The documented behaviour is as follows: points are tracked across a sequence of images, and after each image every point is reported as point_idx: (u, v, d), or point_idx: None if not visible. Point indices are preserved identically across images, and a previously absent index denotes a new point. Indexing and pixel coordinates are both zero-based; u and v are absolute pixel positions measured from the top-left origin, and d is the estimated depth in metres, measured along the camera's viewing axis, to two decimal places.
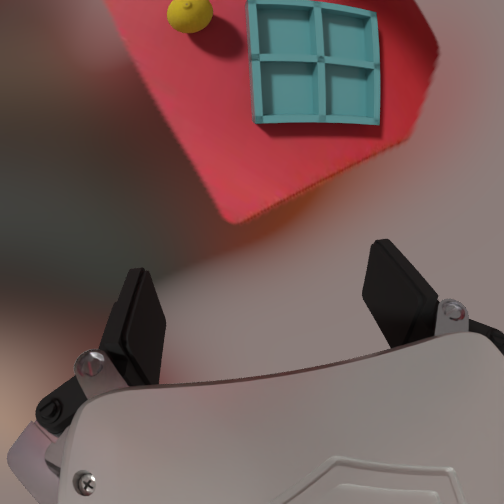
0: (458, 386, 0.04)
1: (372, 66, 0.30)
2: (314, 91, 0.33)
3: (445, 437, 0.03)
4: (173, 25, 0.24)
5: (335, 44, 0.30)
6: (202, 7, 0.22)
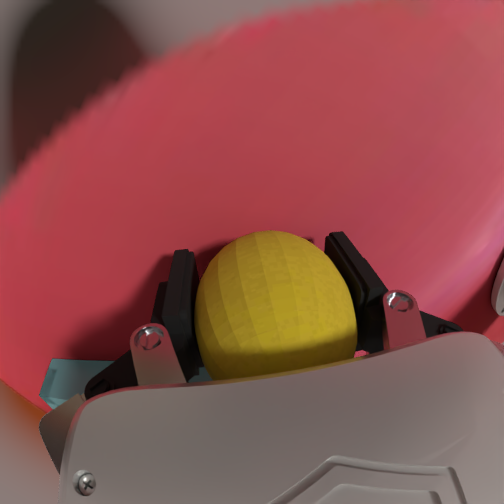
0: (458, 386, 0.04)
1: None
2: None
3: (445, 437, 0.03)
4: (216, 303, 0.08)
5: None
6: None
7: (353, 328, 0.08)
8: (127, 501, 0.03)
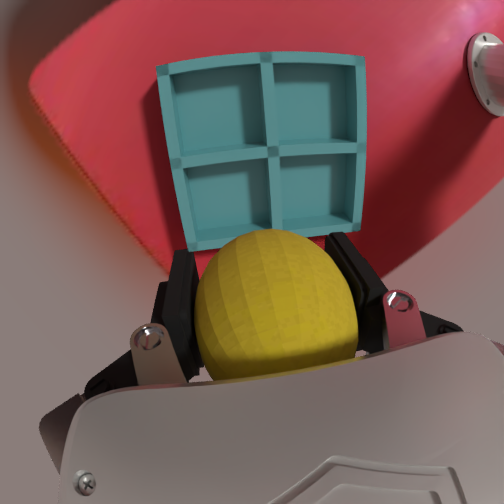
0: (458, 386, 0.04)
1: None
2: (218, 148, 0.24)
3: (445, 437, 0.03)
4: (216, 301, 0.08)
5: (299, 175, 0.27)
6: None
7: (354, 327, 0.08)
8: (127, 501, 0.03)
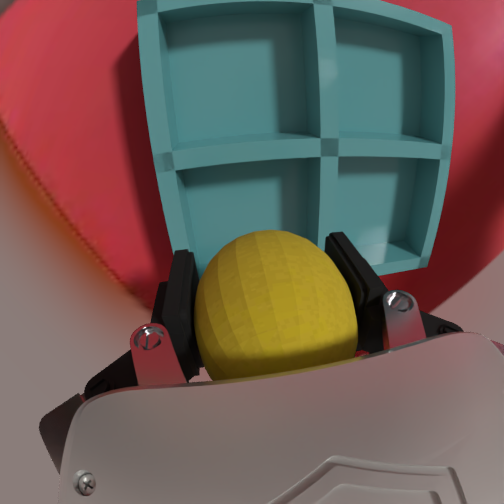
0: (458, 386, 0.04)
1: None
2: (236, 137, 0.14)
3: (445, 437, 0.03)
4: (215, 302, 0.08)
5: (355, 186, 0.18)
6: None
7: (354, 328, 0.08)
8: (127, 501, 0.03)
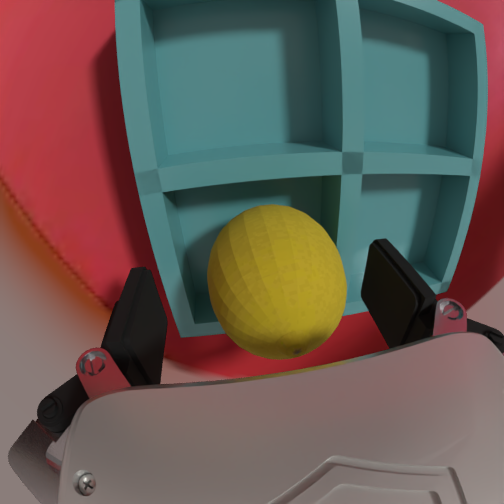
0: (458, 386, 0.04)
1: None
2: (238, 149, 0.12)
3: (445, 437, 0.03)
4: (228, 257, 0.10)
5: (375, 205, 0.15)
6: None
7: (342, 280, 0.09)
8: (127, 501, 0.03)
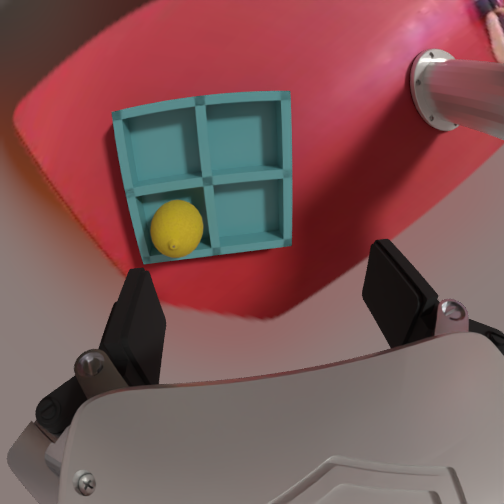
0: (458, 386, 0.04)
1: (214, 246, 0.32)
2: (164, 178, 0.29)
3: (445, 437, 0.03)
4: (155, 217, 0.27)
5: (235, 198, 0.33)
6: (174, 256, 0.27)
7: (193, 224, 0.27)
8: (127, 501, 0.03)
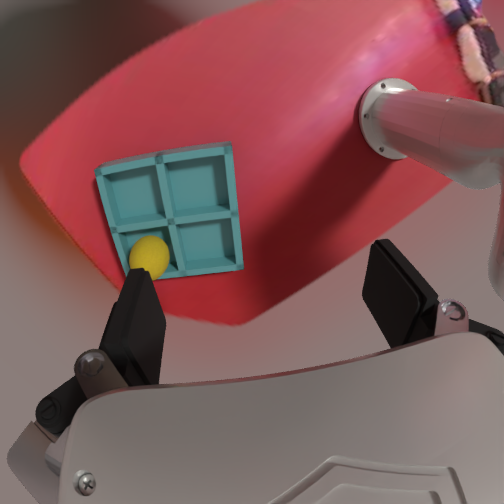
0: (458, 386, 0.04)
1: (180, 269, 0.40)
2: (140, 217, 0.37)
3: (445, 437, 0.03)
4: (131, 251, 0.35)
5: (197, 231, 0.40)
6: None
7: (158, 257, 0.35)
8: (127, 501, 0.03)
